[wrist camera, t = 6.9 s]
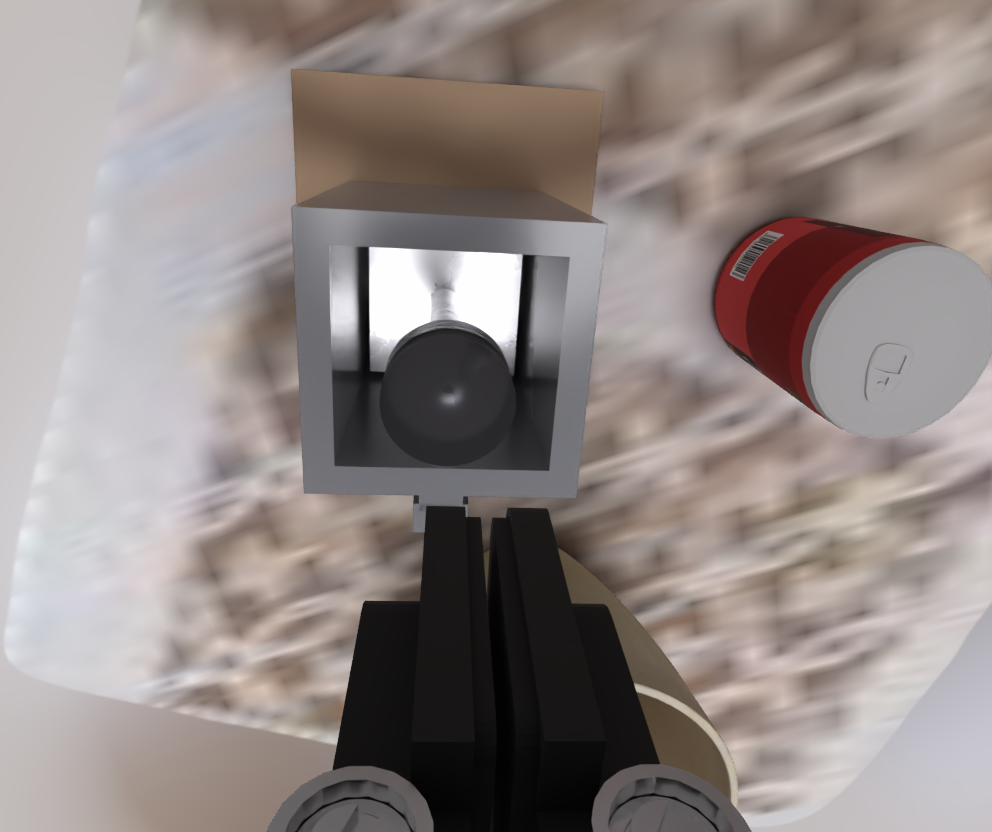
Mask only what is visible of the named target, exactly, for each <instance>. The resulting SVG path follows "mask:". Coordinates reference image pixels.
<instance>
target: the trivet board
mask: <svg viewBox="0 0 992 832" xmlns="http://www.w3.org/2000/svg"><path fill="white" fill-rule="evenodd" d="M291 77H292V102H293V126H294V150H295V174H296V198H297V204H298V203H300V202H303V201H305V200H307V199H309V198H312V197H314V196H316V195H318V194H321V193H323V192H325V191H327V190H330V189H332V188H334V187H336V186H339V185H341V184H343V183H346V182H348V181H350V180H354V181H372V182H389V183H406V184H423V185H440V186H457V187H474V188H491V189H508V190H525V191H542V192H544V193H546V194H548V195H550V196H552V197H554V198H556V199H558V200H560V201H562V202H564V203H566V204H568V205H570V206H572V207H574V208H576V209H578V210H580V211H582V212H584V213H586V214H588V215H590V216H591V213H592V204H593V194H594V185H595V175H596V166H597V156H598V147H599V137H600V128H601V118H602V109H603V99H604V92H603V91H589V90H576V89H562V88H548V87H534V86H520V85H506V84H493V83H479V82H465V81H451V80H437V79H423V78H410V77H396V76H382V75H368V74H354V73H340V72H327V71H313V70H299V69H291Z"/></svg>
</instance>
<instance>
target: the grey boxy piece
mask: <svg viewBox="0 0 992 832" xmlns="http://www.w3.org/2000/svg"><path fill="white" fill-rule="evenodd" d="M291 213H292V235H293V258H294V280H295V303H296V326H297V348H298V371H299V393H300V416H301V438H302V461H303V484H304V493H310V494H366V495H414V502H413V532H424V533H425V517H426V506H460V507H465V510H466V517H468V496H476V497H532V498H576V493H577V484H578V476H579V467H580V458H581V449H582V440H583V432H584V423H585V414H586V405H587V397H588V388H589V379H590V370H591V361H592V353H593V344H594V335H595V326H596V318H597V309H598V300H599V291H600V282H601V274H602V265H603V256H604V247H605V239H606V230H607V224H606V223H604V222H602V221H600V220H598V219H596V218H594V217H592V216H590V215H588V214H586V213H584V212H582V211H580V210H578V209H576V208H574V207H572V206H570V205H568V204H566V203H564V202H562V201H560V200H558V199H556V198H554V197H552V196H550V195H548V194H546V193H544V192H542V191H525V190H508V189H491V188H474V187H457V186H440V185H423V184H406V183H389V182H372V181H354V180H350V181H348V182H346V183H343V184H341V185H339V186H336V187H334V188H332V189H330V190H327V191H325V192H323V193H321V194H318V195H316V196H314V197H312V198H309V199H307V200H305V201H303V202H300V203H298V204H296V205H294V206H291ZM369 247H381V248H401V249H421V250H441V251H461V252H481V253H501V254H521V255H523V256H522V270H521V284H520V297H519V311H518V325H517V339H516V352H515V366H514V376H511V378H512V381H513V385H514V388H515V394H516V410H515V416H514V419H513V423H512V425H511V427H510V430H509V431H508V433H507V435H506V436H505V438H504V439H503V440H502V442H501V443H500V444H499V445H498V446H497V447H496V448H495V449H494V450H492V451H491V452H490V453H488V454H487V455H485V456H484V457H482V458H480V459H478V460H476V461H473V462H471V463H467V464H463V465H457V466H437V465H432V464H428V463H425V462H422V461H419V460H417V459H415V458H413V457H411V456H410V455H408V454H407V453H405V452H404V451H403V450H402V449H400V448H399V447H398V446H397V445H396V444H395V443H394V441H393V440H392V439H391V437H390V436H389V434H388V433H387V431H386V429H385V427H384V424H383V421H382V418H381V414H380V406H379V399H380V391H381V386H382V382H383V378H384V374H385V372H380V371H370V284H369Z"/></svg>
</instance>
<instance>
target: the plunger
mask: <svg viewBox="0 0 992 832" xmlns="http://www.w3.org/2000/svg"><path fill="white" fill-rule="evenodd" d="M522 256H523V255H521V254H501V253H481V252H461V251H441V250H421V249H401V248H381V247H369V284H370V371H380V372H385V374H384V378H383V382H382V386H381V391H380V399H379V406H380V414H381V418H382V421H383V424H384V427H385V429H386V431H387V433H388V434H389V436H390V437H391V439H392V440H393V441H394V443H395V444H396V445H397V446H398V447H399V448H400V449H402V450H403V451H404V452H405V453H407V454H408V455H410V456H411V457H413V458H415V459H417V460H419V461H422V462H425V463H428V464H432V465H437V466H457V465H463V464H467V463H471V462H473V461H476V460H478V459H480V458H482V457H484V456H485V455H487V454H488V453H490V452H491V451H492V450H494V449H495V448H496V447H497V446H498V445H499V444H500V443H501V442H502V440H503V439H504V438H505V436H506V435H507V433H508V431H509V430H510V427H511V425H512V423H513V419H514V416H515V410H516V394H515V388H514V385H513V381H512V378H511V376H514V366H515V352H516V339H517V325H518V311H519V297H520V284H521V270H522Z"/></svg>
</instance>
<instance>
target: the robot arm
mask: <svg viewBox="0 0 992 832" xmlns="http://www.w3.org/2000/svg"><path fill="white" fill-rule="evenodd" d="M267 832H751V830H750V828H749V826H748V825H747V823H746V821H745V820H744V818H743V817H742V816H741V814H740V813H739V812H738V810H737V809H736V808H735V806H734V805H733V804H732V803H731V801H730V800H729V799H728V798H727V797H726V796H725V795H723V794H722V793H721V792H720V791H719V790H717V789H716V788H715V787H714V786H713V785H711V784H710V783H709V782H707V781H705V780H704V779H702V778H700V777H698V776H696V775H694V774H692V773H690V772H688V771H686V770H682V769H678V768H675V767H671V766H667V765H663V764H660V761H659V758H658V755H657V752H656V749H655V746H654V743H653V740H652V737H651V734H650V731H649V728H648V725H647V722H646V719H645V716H644V713H643V710H642V707H641V704H640V701H639V698H638V694H637V691H636V688H635V685H634V682H633V679H632V676H631V673H630V670H629V667H628V664H627V661H626V658H625V655H624V652H623V649H622V646H621V643H620V640H619V637H618V634H617V631H616V627H615V624H614V621H613V618H612V615H611V613H610V611H609V608H608V607H607V606H606V605H605V604H580V603H571V599H570V595H569V591H568V587H567V583H566V579H565V575H564V571H563V567H562V563H561V559H560V555H559V551H558V547H557V543H556V540H555V536H554V532H553V528H552V524H551V520H550V516H549V512H548V510H547V509H546V508H508V509H507V513H506V518H492V523H491V537H490V551H489V566H488V581H487V593H486V581H485V568H484V555H483V542H482V529H481V518H480V517H466V510H465V507H460V506H426V517H425V533H424V549H423V565H422V581H421V597H420V602H418V601H364V603H363V607H362V611H361V617H360V622H359V628H358V633H357V638H356V644H355V649H354V655H353V660H352V666H351V671H350V677H349V682H348V688H347V693H346V699H345V704H344V710H343V715H342V721H341V726H340V732H339V737H338V743H337V749H336V754H335V759H334V765H333V770H332V771H329V772H325V773H323V774H321V775H319V776H317V777H316V778H314V779H312V780H310V781H308V782H307V783H305V784H303V785H301V786H300V787H299V788H298V789H297V790H296V791H295V792H294V793H293V794H292V795H291V796H290V797H289V798H288V799H287V800H286V801H284V802H283V804H282V805H281V807H280V808H279V810H278V812H277V813H276V815H275V817H274V818H273V820H272V822H271V823H270V825H269V827H268V829H267Z"/></svg>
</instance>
